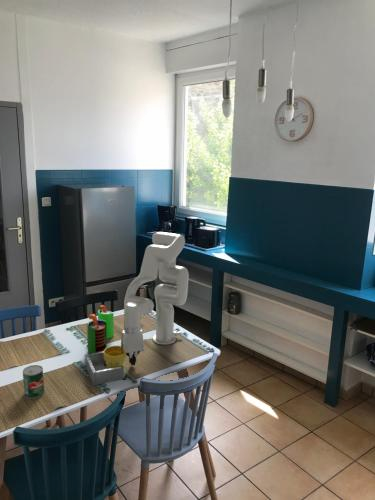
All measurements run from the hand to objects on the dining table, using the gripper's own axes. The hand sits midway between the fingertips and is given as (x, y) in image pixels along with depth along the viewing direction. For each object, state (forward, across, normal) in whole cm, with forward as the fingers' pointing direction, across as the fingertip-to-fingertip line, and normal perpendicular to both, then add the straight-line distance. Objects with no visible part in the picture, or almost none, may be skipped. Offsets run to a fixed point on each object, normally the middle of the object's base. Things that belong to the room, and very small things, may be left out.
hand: (132, 363), depth 192 cm
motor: (+2, +12, -20) cm, 24 cm away
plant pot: (+2, +8, 0) cm, 9 cm away
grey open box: (+1, +14, 0) cm, 14 cm away
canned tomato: (+2, +44, +4) cm, 45 cm away
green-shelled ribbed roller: (+2, +3, -37) cm, 37 cm away
